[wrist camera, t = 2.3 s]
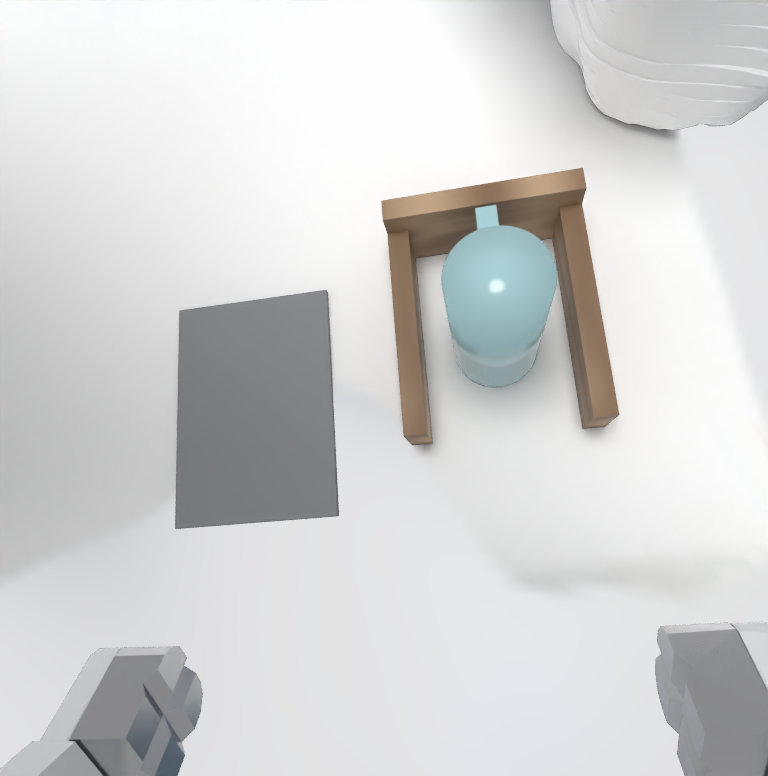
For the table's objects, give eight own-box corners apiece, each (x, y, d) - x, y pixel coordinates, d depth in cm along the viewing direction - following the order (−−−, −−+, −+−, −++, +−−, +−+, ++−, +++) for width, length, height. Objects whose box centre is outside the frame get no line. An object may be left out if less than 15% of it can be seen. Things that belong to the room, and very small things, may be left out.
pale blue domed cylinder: (458, 391, 33) (447, 337, 24) (446, 280, 35) (431, 188, 26) (542, 382, 33) (565, 322, 23) (525, 269, 34) (540, 170, 25)
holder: (412, 445, 33) (399, 431, 28) (395, 243, 36) (381, 200, 32) (605, 426, 31) (626, 408, 27) (569, 217, 35) (582, 167, 30)
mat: (178, 528, 34) (175, 528, 34) (182, 312, 38) (179, 310, 38) (338, 516, 33) (337, 515, 33) (327, 292, 36) (326, 290, 36)
